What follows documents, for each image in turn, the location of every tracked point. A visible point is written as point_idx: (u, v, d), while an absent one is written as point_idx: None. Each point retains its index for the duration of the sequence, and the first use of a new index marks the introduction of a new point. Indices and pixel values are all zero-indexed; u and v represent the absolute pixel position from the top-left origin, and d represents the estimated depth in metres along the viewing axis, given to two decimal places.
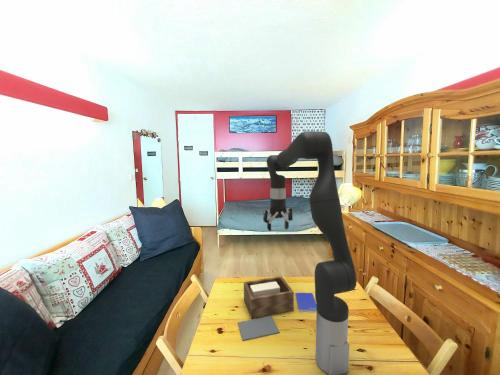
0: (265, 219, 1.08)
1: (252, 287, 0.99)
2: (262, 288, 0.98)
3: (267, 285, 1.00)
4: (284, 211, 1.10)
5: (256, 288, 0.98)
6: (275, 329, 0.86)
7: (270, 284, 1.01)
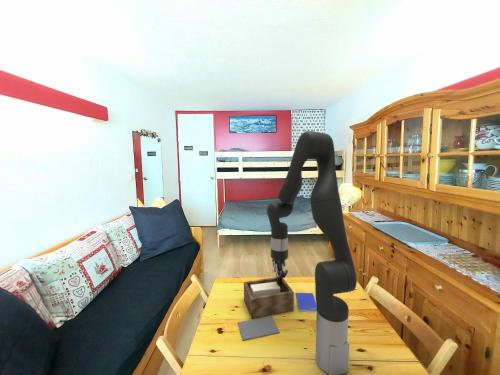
0: (285, 275, 0.97)
1: (252, 286, 0.99)
2: (263, 288, 0.98)
3: (268, 285, 1.00)
4: None
5: (256, 287, 0.98)
6: (275, 329, 0.86)
7: (270, 284, 1.01)
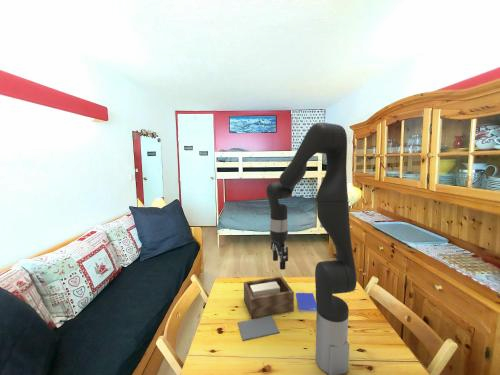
0: (287, 257, 0.93)
1: (252, 287, 0.99)
2: (262, 288, 0.98)
3: (267, 285, 1.00)
4: None
5: (256, 288, 0.98)
6: (275, 329, 0.86)
7: (270, 284, 1.01)
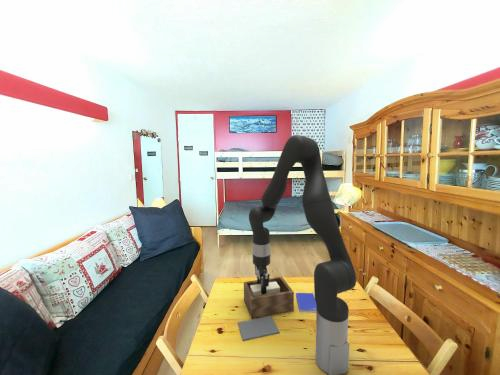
0: None
1: (252, 287, 0.99)
2: None
3: None
4: None
5: (256, 288, 0.98)
6: (275, 329, 0.86)
7: (270, 284, 1.01)
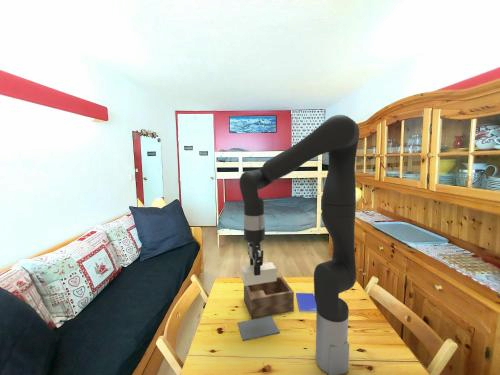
0: None
1: (244, 268, 0.84)
2: None
3: (262, 266, 0.85)
4: None
5: (248, 268, 0.83)
6: (275, 329, 0.86)
7: (265, 265, 0.86)
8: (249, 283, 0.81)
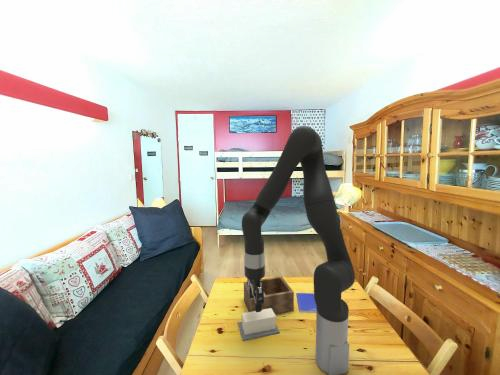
0: (263, 299, 0.79)
1: (244, 316, 0.86)
2: (255, 317, 0.85)
3: (262, 314, 0.87)
4: None
5: (248, 317, 0.85)
6: (275, 329, 0.86)
7: (265, 312, 0.88)
8: (249, 332, 0.84)
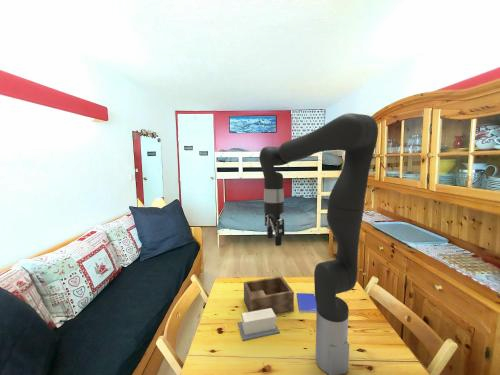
0: (283, 231, 0.82)
1: (244, 316, 0.86)
2: (255, 317, 0.85)
3: (262, 314, 0.87)
4: None
5: (248, 317, 0.85)
6: (275, 329, 0.86)
7: (265, 312, 0.88)
8: (249, 332, 0.84)
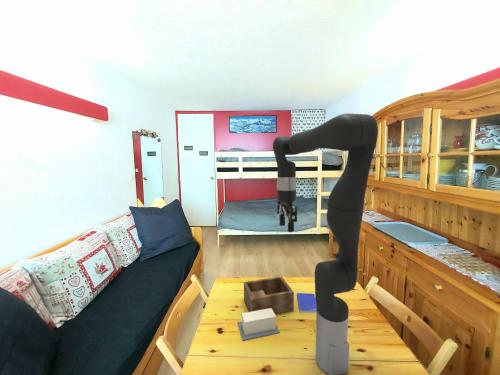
0: (296, 217, 0.85)
1: (244, 316, 0.86)
2: (255, 317, 0.85)
3: (262, 314, 0.87)
4: None
5: (248, 317, 0.85)
6: (275, 329, 0.86)
7: (265, 312, 0.88)
8: (249, 332, 0.84)
